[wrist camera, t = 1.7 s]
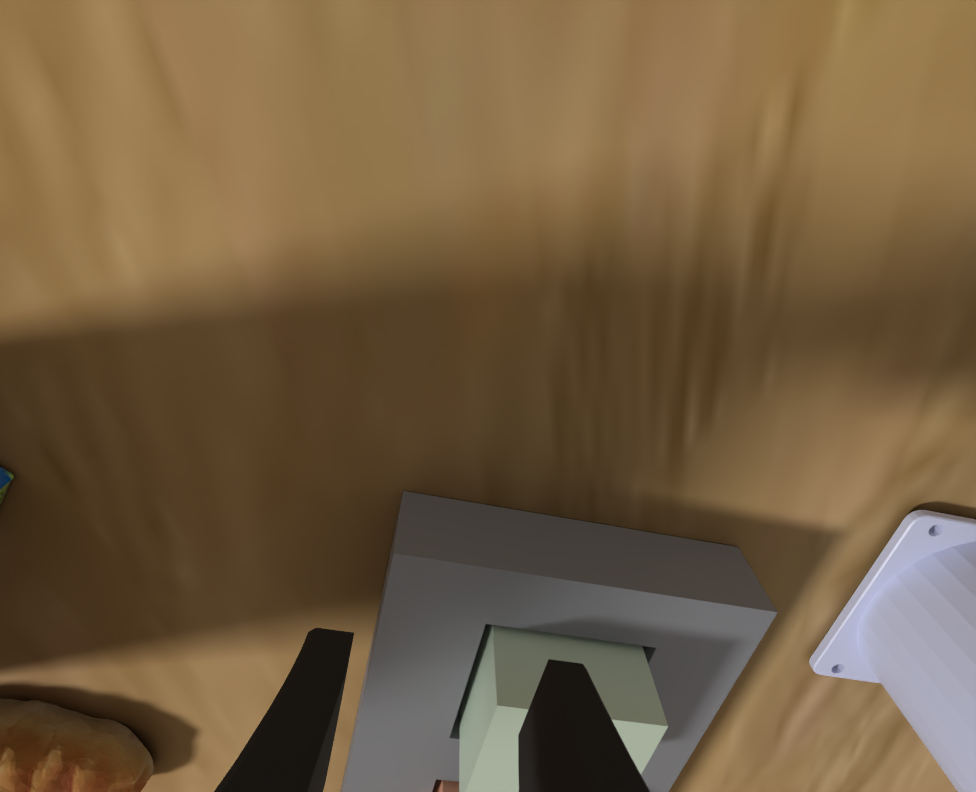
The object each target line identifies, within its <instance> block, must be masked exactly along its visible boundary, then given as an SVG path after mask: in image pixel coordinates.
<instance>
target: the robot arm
mask: <svg viewBox="0 0 976 792" xmlns="http://www.w3.org/2000/svg"><path fill="white" fill-rule="evenodd" d="M353 636H354V633H351V632H344V631H336V630H329V629H321V628H315V629H313V630H311V631H309V632H308V634H307V637H306V639H305V642H304V644H303V647H302V649H301V651H300V653H299V655H298V657H297V659H296V661H295V663H294V665H293V667H292V669H291V671H290V673H289V675H288V677H287V678H286V680H285V682H284V684H283V686H282V687H281V689H280V691H279V692H278V694H277V696H276V698H275V699H274V701H273V703H272V705H271V706H270V708H269V710H268V711H267V713H266V714H265V716H264V718H263V719H262V721H261V722H260V724H259V725H258V727H257V729H256V730H255V732H254V733H253V735H252V736H251V738H250V740H249V741H248V743H247V744H246V746H245V747H244V749H243V751H242V752H241V754H240V755H239V757H238V758H237V760H236V761H235V763H234V764H233V766H232V767H231V769H230V770H229V771H228V773H227V774H226V776H225V777H224V778H223V780H222V781H221V783H220V784H219V785H218V787H217V788H216V790H215V791H214V792H323V789H324V785H325V781H326V776H327V771H328V766H329V761H330V756H331V751H332V746H333V741H334V736H335V731H336V726H337V721H338V716H339V710H340V705H341V700H342V694H343V689H344V684H345V678H346V673H347V668H348V662H349V657H350V652H351V646H352V641H353ZM809 663H810V666H811V667H812V669H813V671H814V672H815V673H816V674H820V675H826V676H833V677H840V678H847V679H854V680H861V681H869V682H876V683H881V684H882V685H883V686H884V688H885V689H886V691H887V692H888V694H889V695H890V696H891V698H892V699H893V701H894V702H895V703H896V705H897V706H898V708H899V709H900V711H901V712H902V713H903V715H904V716H905V718H906V719H907V720H908V722H909V723H910V725H911V726H912V728H913V729H914V730H915V732H916V733H917V735H918V736H919V737H920V739H921V740H922V742H923V743H924V745H925V746H926V747H927V749H928V750H929V752H930V753H931V754H932V756H933V757H934V759H935V760H936V762H937V763H938V764H939V766H940V767H941V769H942V770H943V771H944V773H945V774H946V776H947V777H948V779H949V780H950V781H951V783H952V784H953V786H954V787H955V788H956V790H957V791H958V792H976V519H971V518H965V517H960V516H955V515H949V514H944V513H938V512H933V511H928V510H917V511H913V512H911V513H910V514H908V515H907V516H906V517H905V518H904V520H903V521H902V523H901V524H900V526H899V527H898V529H897V530H896V531H895V533H894V534H893V536H892V537H891V539H890V540H889V542H888V543H887V545H886V546H885V548H884V549H883V551H882V552H881V554H880V555H879V557H878V558H877V560H876V561H875V563H874V564H873V566H872V567H871V569H870V570H869V572H868V573H867V575H866V576H865V578H864V579H863V581H862V582H861V584H860V585H859V586H858V588H857V589H856V591H855V592H854V594H853V595H852V597H851V598H850V600H849V601H848V603H847V604H846V606H845V607H844V609H843V610H842V612H841V613H840V615H839V616H838V618H837V619H836V621H835V622H834V624H833V625H832V627H831V628H830V630H829V631H828V633H827V634H826V636H825V637H824V639H823V640H822V641H821V643H820V644H819V646H818V647H817V649H816V650H815V652H814V653H813V655H812V656H811V658H810V661H809ZM518 770H519V792H650V790H649V788H648V787H647V785H646V783H645V781H644V780H643V778H642V776H641V774H640V772H639V771H638V769H637V767H636V765H635V763H634V761H633V760H632V758H631V756H630V754H629V752H628V750H627V748H626V746H625V744H624V743H623V741H622V739H621V737H620V735H619V733H618V731H617V729H616V727H615V725H614V723H613V721H612V719H611V717H610V715H609V713H608V711H607V709H606V707H605V705H604V703H603V701H602V699H601V697H600V695H599V693H598V691H597V689H596V687H595V685H594V683H593V681H592V679H591V677H590V675H589V673H588V671H587V669H586V668H585V666H584V665H583V664H581V663H574V662H566V661H559V660H551V659H548V662H547V664H546V667H545V669H544V672H543V674H542V677H541V679H540V682H539V684H538V687H537V690H536V692H535V695H534V697H533V700H532V702H531V705H530V707H529V710H528V712H527V715H526V717H525V720H524V722H523V725H522V727H521V730H520V732H519V735H518Z"/></svg>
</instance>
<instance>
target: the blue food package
mask: <svg viewBox="0 0 976 792" xmlns="http://www.w3.org/2000/svg"><path fill="white" fill-rule="evenodd" d="M13 477H14V476H13V475H12V474H11V473H10V472H8V471H7V470H5V469H3V468H1V467H0V505H1V502H2V500H3V498H4V496H5V494H6V492H7V490H8V488H9V486H10V484H11V482H12V480H13Z"/></svg>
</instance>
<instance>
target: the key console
mask: <svg viewBox="0 0 976 792" xmlns="http://www.w3.org/2000/svg"><path fill="white" fill-rule="evenodd" d="M777 613H778V612H777V610H776V609H775V607H774V605H773V604H772V602H771V600H770V599H769V597H768V595H767V594H766V592H765V590H764V589H763V587H762V585H761V584H760V582H759V580H758V579H757V577H756V576H755V574H754V572H753V571H752V569H751V567H750V566H749V564H748V562H747V561H746V559H745V557H744V556H743V554H742V552H741V551H740V549H739V547H734V546H729V545H723V544H717V543H711V542H705V541H699V540H693V539H687V538H681V537H675V536H669V535H663V534H657V533H651V532H645V531H639V530H633V529H627V528H621V527H616V526H610V525H604V524H598V523H592V522H586V521H580V520H574V519H568V518H562V517H556V516H550V515H544V514H538V513H532V512H526V511H520V510H514V509H509V508H503V507H497V506H491V505H485V504H479V503H473V502H467V501H461V500H455V499H449V498H443V497H437V496H431V495H425V494H419V493H413V492H407V491H403V494H402V499H401V504H400V509H399V514H398V518H397V523H396V528H395V533H394V538H393V542H392V547H391V552H390V557H389V562H388V567H387V571H386V576H385V581H384V586H383V591H382V595H381V600H380V605H379V610H378V615H377V619H376V624H375V629H374V634H373V639H372V643H371V648H370V653H369V658H368V663H367V668H366V672H365V677H364V682H363V687H362V692H361V696H360V701H359V706H358V711H357V716H356V720H355V725H354V730H353V735H352V740H351V745H350V749H349V754H348V759H347V764H346V769H345V773H344V778H343V783H342V788H341V792H432V791H433V788H434V784H435V781H436V779H438V780H447V781H457V782H459V748H460V703H461V700H462V697H463V694H464V691H465V688H466V684H467V681H468V678H469V675H470V672H471V669H472V666H473V663H474V659H475V656H476V653H477V650H478V647H479V644H480V641H481V638H482V634H483V631H484V628H485V625H486V624H491V625H498V626H505V627H513V628H520V629H527V630H534V631H541V632H548V633H555V634H562V635H569V636H576V637H584V638H591V639H598V640H605V641H612V642H619V643H626V644H633V645H640V646H643V650H644V653H645V656H646V659H647V662H648V665H649V668H650V671H651V674H652V677H653V681H654V684H655V687H656V690H657V693H658V696H659V699H660V702H661V705H662V708H663V712H664V715H665V718H666V721H667V724H668V728H667V730H666V731H665V733H664V735H663V737H662V738H661V740H660V742H659V744H658V746H657V747H656V749H655V751H654V753H653V754H652V756H651V758H650V760H649V762H648V763H647V765H646V767H645V769H644V770H643V772H642V774H641V776H642V778H643V780H644V781H645V783H646V785H647V787H648V788H649V790H650V792H669V790H670V788H671V787H672V785H673V784H674V782H675V780H676V779H677V777H678V775H679V774H680V772H681V770H682V769H683V767H684V765H685V764H686V762H687V761H688V759H689V757H690V756H691V754H692V752H693V751H694V749H695V747H696V746H697V744H698V743H699V741H700V739H701V738H702V736H703V734H704V733H705V731H706V729H707V728H708V726H709V724H710V723H711V721H712V720H713V718H714V716H715V715H716V713H717V711H718V710H719V708H720V706H721V705H722V703H723V701H724V700H725V698H726V697H727V695H728V693H729V692H730V690H731V688H732V687H733V685H734V683H735V682H736V680H737V678H738V677H739V675H740V674H741V672H742V670H743V669H744V667H745V665H746V664H747V662H748V660H749V659H750V657H751V656H752V654H753V652H754V651H755V649H756V647H757V646H758V644H759V642H760V641H761V639H762V637H763V636H764V634H765V633H766V631H767V629H768V628H769V626H770V624H771V623H772V621H773V619H774V618H775V616H776V614H777Z"/></svg>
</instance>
